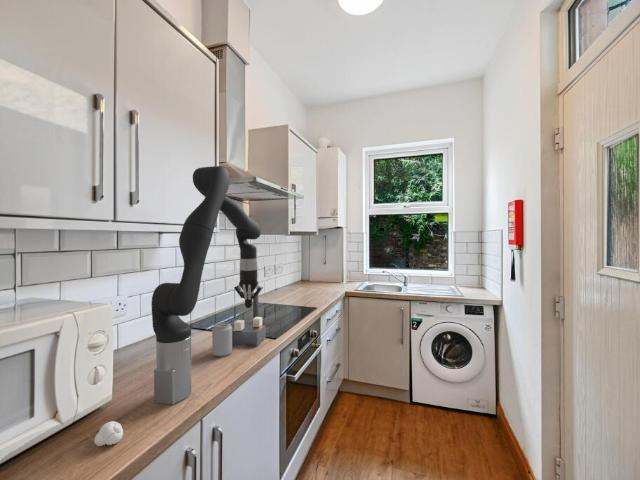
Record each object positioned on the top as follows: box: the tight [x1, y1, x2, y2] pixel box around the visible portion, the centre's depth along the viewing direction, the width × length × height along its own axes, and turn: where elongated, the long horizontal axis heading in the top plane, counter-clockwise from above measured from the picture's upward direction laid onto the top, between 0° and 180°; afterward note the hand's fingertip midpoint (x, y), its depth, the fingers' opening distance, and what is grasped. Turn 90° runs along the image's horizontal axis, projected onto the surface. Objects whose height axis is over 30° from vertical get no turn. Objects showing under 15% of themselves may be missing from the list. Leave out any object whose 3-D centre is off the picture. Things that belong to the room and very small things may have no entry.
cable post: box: [252, 292, 259, 320], centre depth 136 cm, size 4×4×20 cm
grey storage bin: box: [232, 323, 267, 348], centre depth 128 cm, size 10×12×6 cm
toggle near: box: [233, 319, 245, 331], centre depth 126 cm, size 4×3×4 cm
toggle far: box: [252, 316, 263, 327], centre depth 131 cm, size 4×3×4 cm
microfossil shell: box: [93, 421, 124, 447], centre depth 66 cm, size 4×5×6 cm
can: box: [211, 321, 233, 358], centre depth 115 cm, size 8×8×12 cm
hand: (248, 307), depth 128 cm, fingers closed
